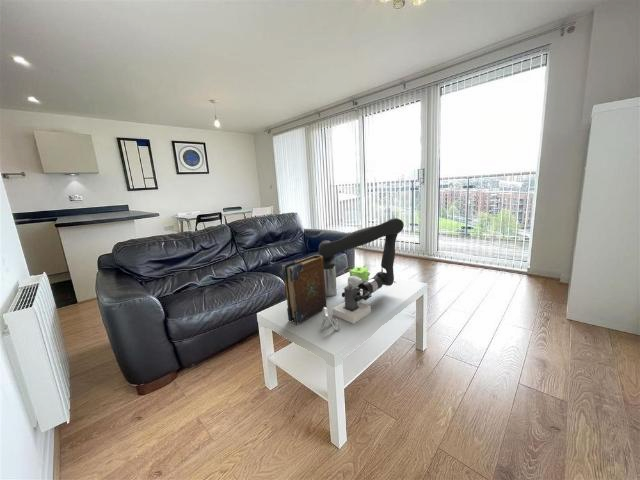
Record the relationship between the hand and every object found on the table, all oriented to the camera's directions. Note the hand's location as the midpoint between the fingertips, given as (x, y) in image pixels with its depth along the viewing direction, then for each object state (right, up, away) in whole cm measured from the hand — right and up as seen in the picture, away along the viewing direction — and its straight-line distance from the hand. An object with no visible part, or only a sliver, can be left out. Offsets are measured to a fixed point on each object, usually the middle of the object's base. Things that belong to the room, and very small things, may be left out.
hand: (348, 297), depth 130 cm
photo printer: (+7, -5, +23) cm, 25 cm away
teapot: (+12, 0, +44) cm, 46 cm away
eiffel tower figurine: (+28, 0, +41) cm, 50 cm away
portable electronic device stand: (-10, -13, -7) cm, 17 cm away
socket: (+2, -9, +3) cm, 10 cm away
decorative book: (-20, -10, +6) cm, 23 cm away
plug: (+2, -9, +3) cm, 9 cm away
